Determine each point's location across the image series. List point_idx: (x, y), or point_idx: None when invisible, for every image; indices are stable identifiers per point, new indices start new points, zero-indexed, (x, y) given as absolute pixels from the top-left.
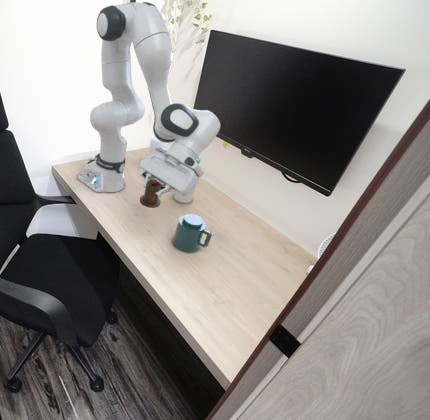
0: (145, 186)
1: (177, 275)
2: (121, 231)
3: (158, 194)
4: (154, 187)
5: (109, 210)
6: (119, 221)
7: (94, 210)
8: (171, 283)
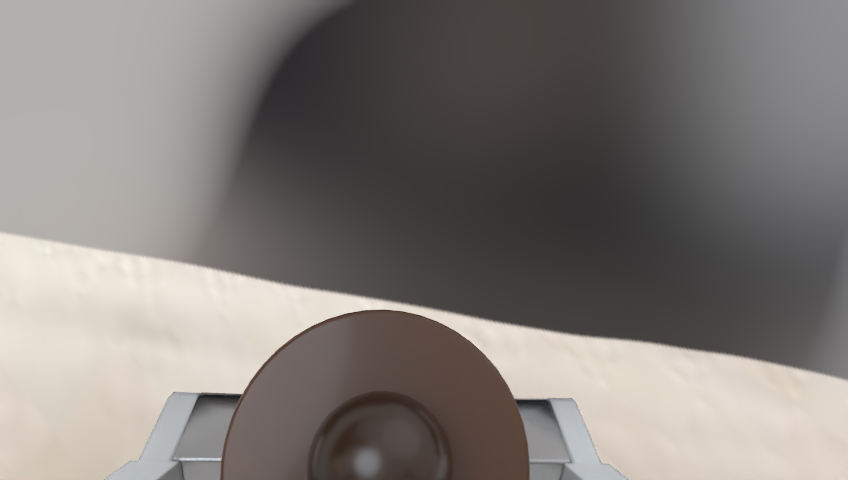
0: None
1: (28, 419)
2: (514, 394)
3: (178, 398)
4: (276, 374)
5: (739, 476)
6: (606, 455)
7: (772, 379)
8: (17, 338)
